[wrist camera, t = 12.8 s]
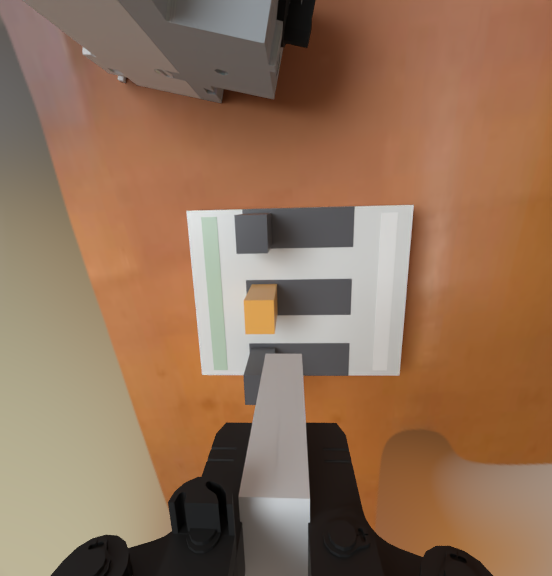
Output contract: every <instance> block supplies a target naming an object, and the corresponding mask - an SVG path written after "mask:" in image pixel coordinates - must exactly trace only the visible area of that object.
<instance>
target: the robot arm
mask: <svg viewBox="0 0 552 576" xmlns="http://www.w3.org/2000/svg"><path fill="white" fill-rule="evenodd" d="M168 505H169V512H170V519H171V526H172V532H170V533H169V534H167V535H166V536H164V537H162V538H159V539H157V540H154V541H151V542H148V543H144V544H141V545H138V546H134V547H131V548H128V547H127V544H126V542H125V541H124V540H122V539H121V538H120V537H119V536H114V535H103V536H100V537H97V538H93V539H91V540H89V541H87V542H86V543H84V544H82V545H81V546H79V547H78V548H76V549H75V550H74V551H73V552H72V553H71V554H70V555H69V556H68V557H67V558H66V559H65V560H64V561H63V562H62V563H61V564H60V565H59V566H58V568H57V569H56V570H55V571H54V572H53V573H52V575H51V576H493V575H492V574H491V573H490V572H489V571H488V570H487V569H486V568H485V567H484V565H483V564H482V563H481V562H480V561H478V560H477V559H475V558H474V557H472V556H471V555H469V554H468V553H466V552H465V551H462V550H459V549H457V548H454V547H451V546H435V547H433V548H432V549H430V550H428V551H426V553H425V555H424V557H421V556H418V555H415V554H413V553H410V552H407V551H405V550H402V549H399V548H397V547H395V546H393V545H391V544H389V543H387V542H386V541H384V540H383V539H382V538H381V537H379V536H378V535H377V534H376V533H375V532H374V530H373V529H372V528H371V527H370V525H369V524H368V522H367V520H366V518H365V516H364V513H363V510H362V505H361V501H360V496H359V492H358V488H357V483H356V479H355V474H354V470H353V466H352V463H351V457H350V452H349V448H348V444H347V439H346V435H345V434H344V432H343V431H342V430H341V429H340V427H339V426H338V425H337V423H306V418H305V400H304V383H303V365H302V354H265V359H264V365H263V370H262V375H261V380H260V386H259V391H258V396H257V401H256V407H255V412H254V417H253V422H252V423H226V424H225V425H224V426H223V427H222V428H221V429H220V430H219V431H218V432H217V434H216V436H215V439H214V442H213V445H212V449H211V451H210V454H209V457H208V461H207V462H206V465H205V468H204V471H203V474H202V477H197V478H194V479H192V480H190V481H188V482H186V483H184V484H183V485H182V486H181V487H179V488H178V489H177V490H176V491H175V492H174V494H173V495H172V497H171V498H170V500H169V502H168Z"/></svg>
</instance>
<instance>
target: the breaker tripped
mask: <svg viewBox="0 0 552 576" xmlns="http://www.w3.org/2000/svg"><path fill="white" fill-rule="evenodd" d="M277 314H278V308H277V284H252V285H251V287H250V289H249V291H248V293H247V295H246V297H245V299H244V317H245V334H275V329H276V321H277Z"/></svg>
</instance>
